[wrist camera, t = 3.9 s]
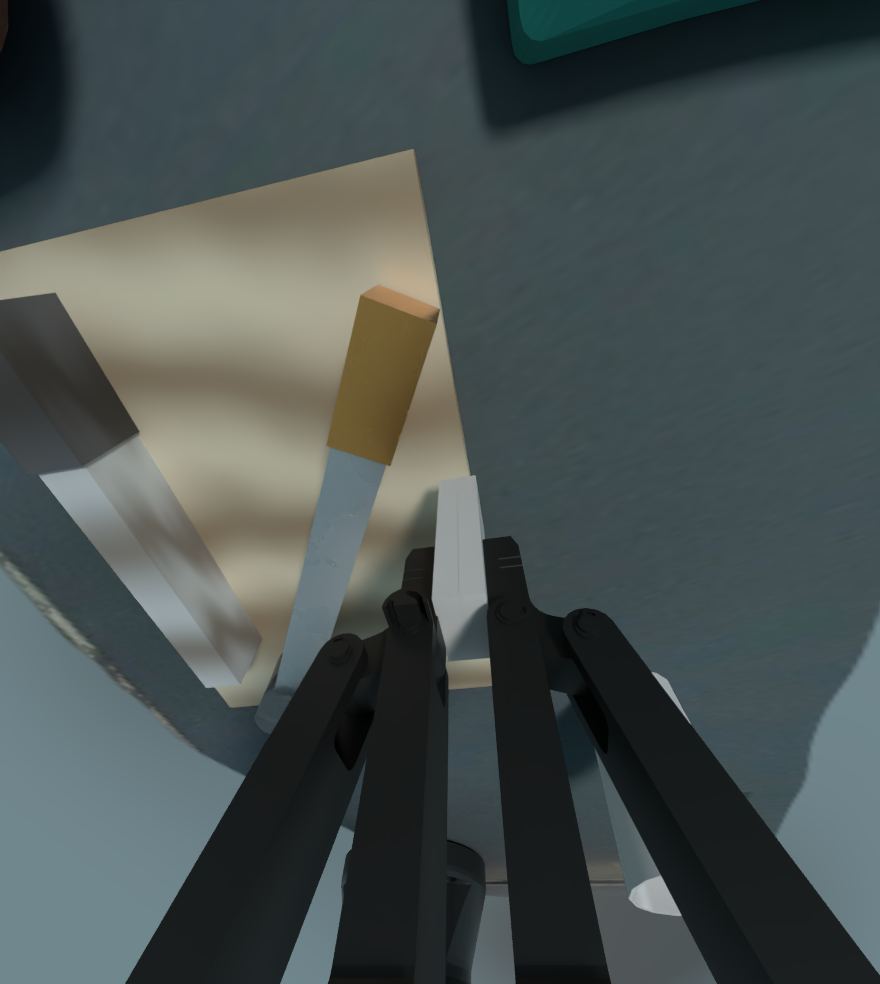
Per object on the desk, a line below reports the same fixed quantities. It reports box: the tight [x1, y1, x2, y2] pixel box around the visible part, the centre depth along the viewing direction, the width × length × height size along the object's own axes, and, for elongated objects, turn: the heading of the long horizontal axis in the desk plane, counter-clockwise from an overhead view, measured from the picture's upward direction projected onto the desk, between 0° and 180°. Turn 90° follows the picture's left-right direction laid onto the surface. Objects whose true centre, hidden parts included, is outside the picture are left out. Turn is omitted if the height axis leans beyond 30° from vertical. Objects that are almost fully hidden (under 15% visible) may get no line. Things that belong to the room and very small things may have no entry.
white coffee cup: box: [595, 672, 690, 916], centre depth 24 cm, size 7×7×10 cm
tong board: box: [0, 149, 492, 708], centre depth 20 cm, size 27×19×4 cm
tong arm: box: [254, 285, 440, 735], centre depth 19 cm, size 24×3×4 cm, turn 161°
